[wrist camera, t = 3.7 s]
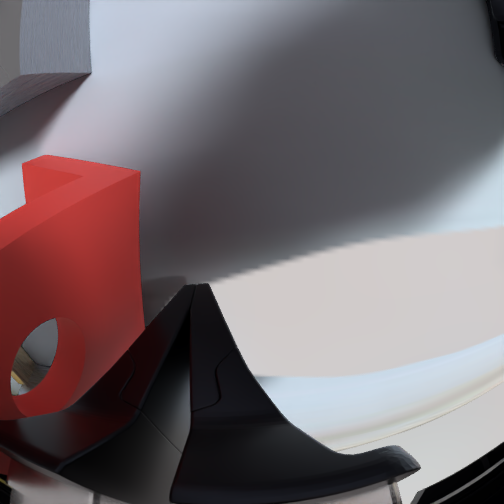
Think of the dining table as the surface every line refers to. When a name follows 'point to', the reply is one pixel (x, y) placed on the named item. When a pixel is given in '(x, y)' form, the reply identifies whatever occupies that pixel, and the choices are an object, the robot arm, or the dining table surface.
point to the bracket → (69, 278)
